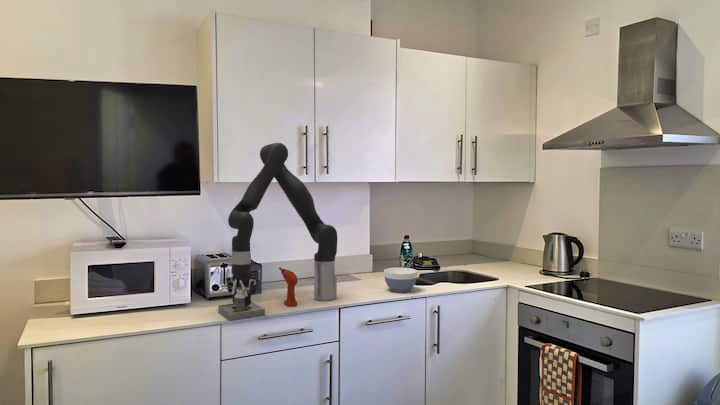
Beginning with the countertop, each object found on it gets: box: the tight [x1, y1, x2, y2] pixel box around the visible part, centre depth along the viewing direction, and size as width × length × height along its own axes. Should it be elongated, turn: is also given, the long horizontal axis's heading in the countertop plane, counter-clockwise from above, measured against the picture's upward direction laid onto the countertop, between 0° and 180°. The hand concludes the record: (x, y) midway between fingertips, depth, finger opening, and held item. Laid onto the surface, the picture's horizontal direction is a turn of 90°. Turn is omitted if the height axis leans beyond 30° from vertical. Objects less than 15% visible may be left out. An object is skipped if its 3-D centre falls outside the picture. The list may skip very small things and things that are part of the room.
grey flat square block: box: [217, 300, 266, 322], centre depth 201 cm, size 14×14×3 cm
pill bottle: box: [235, 288, 249, 311], centre depth 201 cm, size 5×5×10 cm
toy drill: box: [278, 267, 299, 308], centre depth 219 cm, size 5×19×15 cm, turn 29°
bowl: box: [383, 267, 418, 293], centre depth 243 cm, size 16×16×10 cm
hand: (241, 304), depth 201 cm, fingers closed on pill bottle, 5 cm apart
